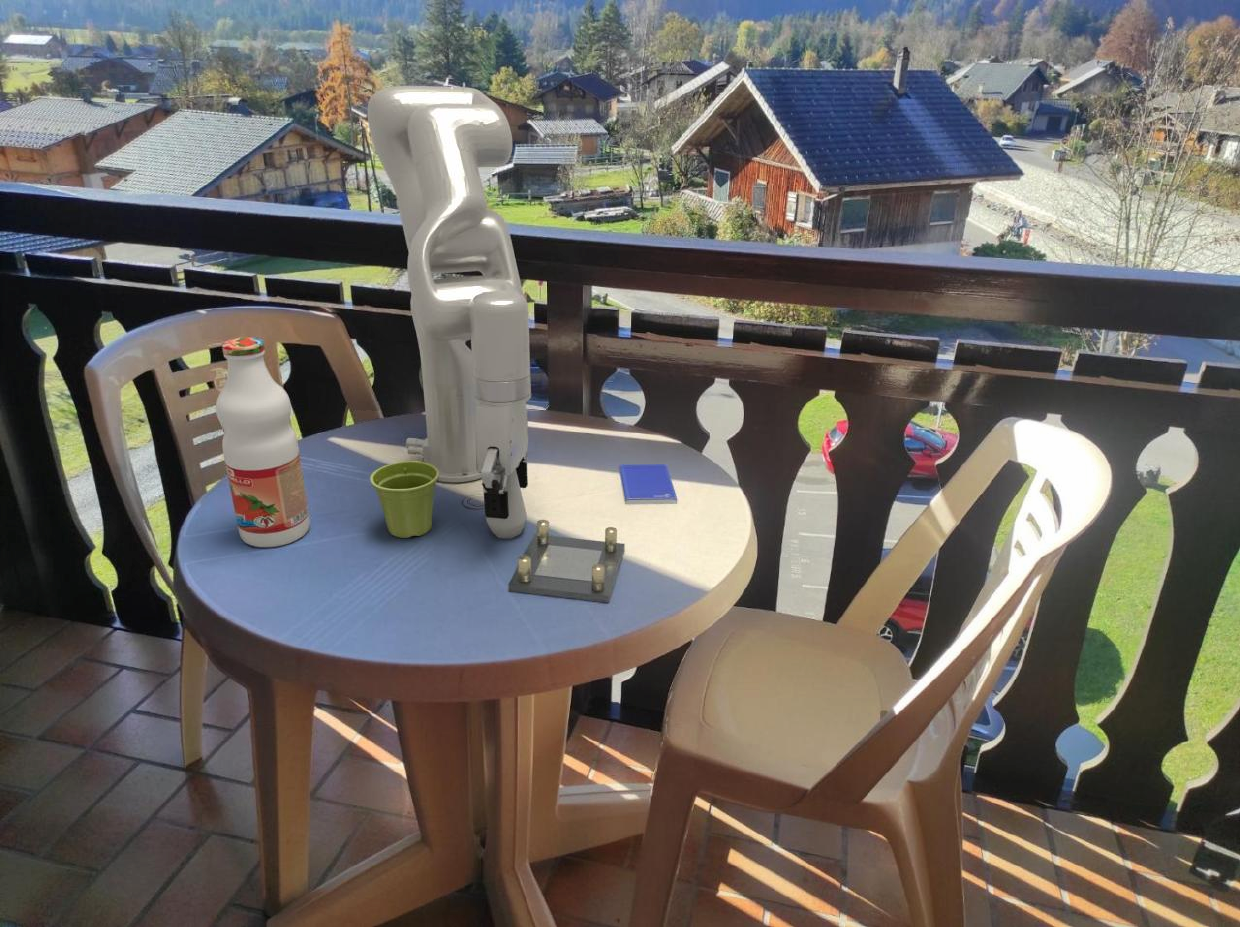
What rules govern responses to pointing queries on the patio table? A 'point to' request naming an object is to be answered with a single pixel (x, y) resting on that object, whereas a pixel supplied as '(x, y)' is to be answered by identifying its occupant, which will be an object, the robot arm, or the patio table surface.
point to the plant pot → (406, 496)
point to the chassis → (568, 566)
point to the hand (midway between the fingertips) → (507, 501)
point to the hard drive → (647, 484)
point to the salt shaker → (510, 509)
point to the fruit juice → (260, 450)
